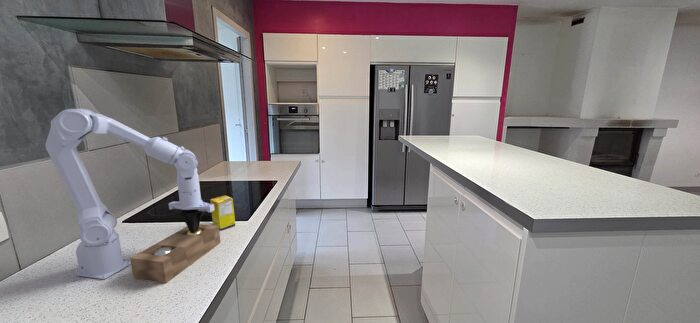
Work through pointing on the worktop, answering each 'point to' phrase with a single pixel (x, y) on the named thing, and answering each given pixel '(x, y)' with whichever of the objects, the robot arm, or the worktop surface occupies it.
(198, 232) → the brass peg
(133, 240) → the worktop surface
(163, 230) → the worktop surface
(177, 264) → the walnut peg board
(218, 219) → the supplement box
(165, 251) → the steel peg
